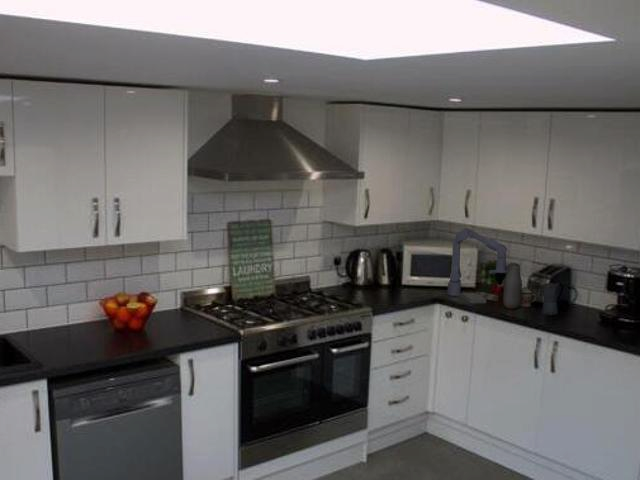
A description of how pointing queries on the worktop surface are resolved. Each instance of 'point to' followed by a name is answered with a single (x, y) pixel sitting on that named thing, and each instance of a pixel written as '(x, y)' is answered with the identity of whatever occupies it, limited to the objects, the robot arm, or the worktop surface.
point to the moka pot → (550, 297)
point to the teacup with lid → (526, 297)
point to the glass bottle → (512, 286)
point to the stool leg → (488, 296)
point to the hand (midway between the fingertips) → (499, 284)
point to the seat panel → (473, 297)
